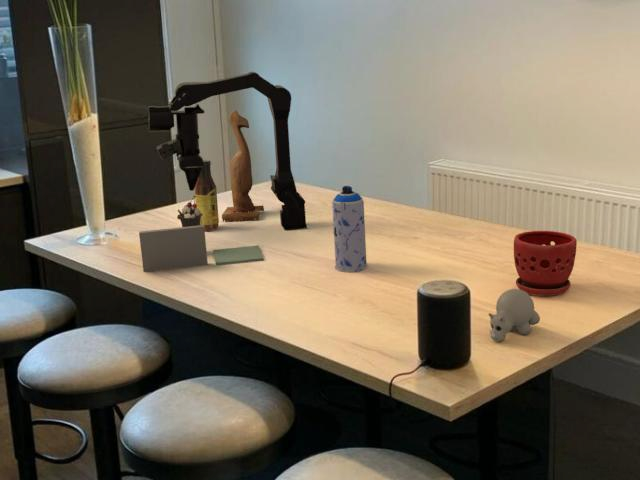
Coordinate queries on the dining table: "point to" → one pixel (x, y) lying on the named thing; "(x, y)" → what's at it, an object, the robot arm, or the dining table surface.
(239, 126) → the bird sculpture
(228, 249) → the rubber mat
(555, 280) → the plant pot
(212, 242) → the dining table surface
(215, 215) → the sauce bottle
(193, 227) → the partition board
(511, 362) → the dining table surface
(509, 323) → the chubby cartoon animal
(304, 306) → the dining table surface
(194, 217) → the sundae
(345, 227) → the aerosol can
